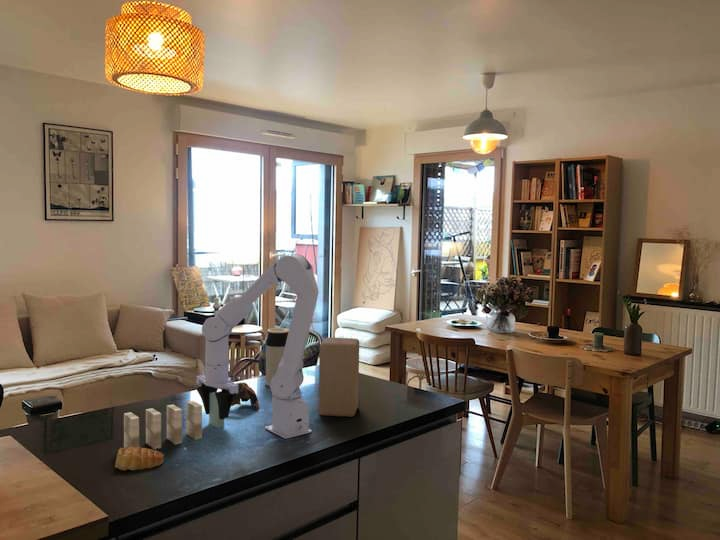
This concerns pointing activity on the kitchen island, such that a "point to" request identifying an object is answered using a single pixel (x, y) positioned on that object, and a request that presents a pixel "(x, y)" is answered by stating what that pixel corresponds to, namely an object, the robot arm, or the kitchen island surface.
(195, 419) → the domino
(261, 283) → the robot arm
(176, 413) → the domino
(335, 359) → the wooden block
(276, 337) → the travel mug
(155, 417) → the domino
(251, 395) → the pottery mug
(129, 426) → the domino
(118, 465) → the pastry
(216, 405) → the domino
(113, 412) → the kitchen island surface
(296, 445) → the kitchen island surface
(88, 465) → the kitchen island surface
